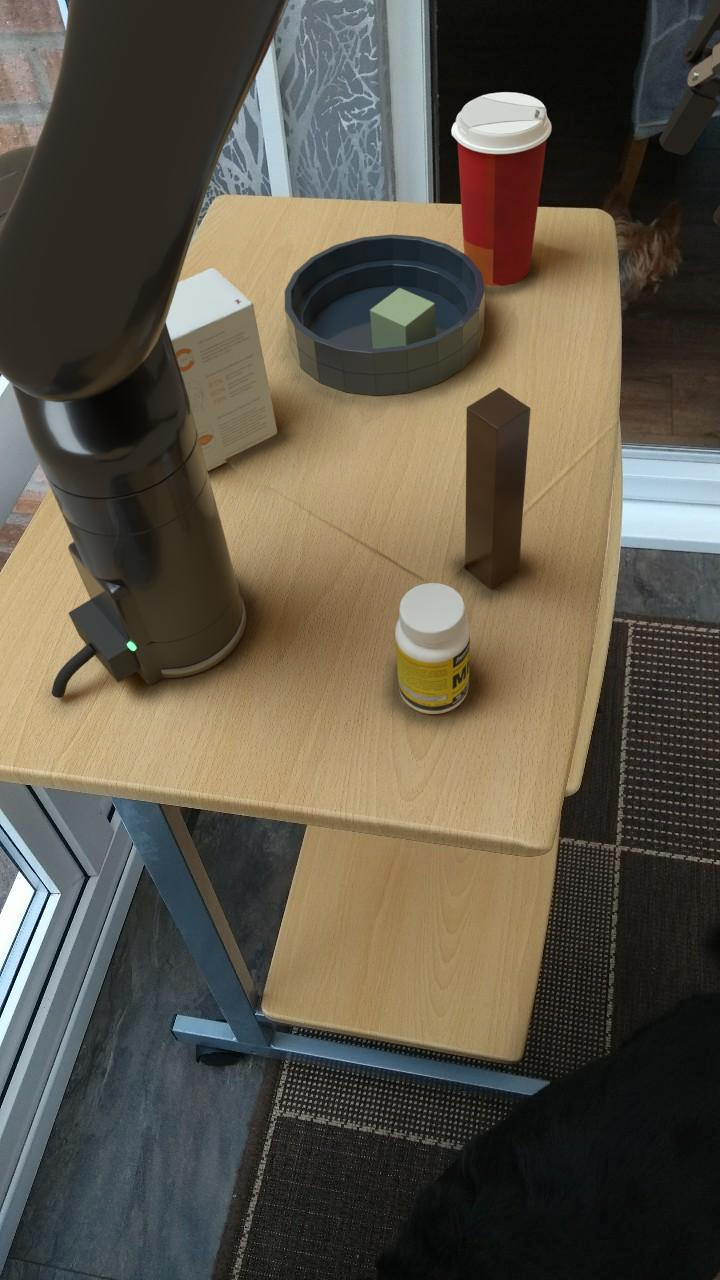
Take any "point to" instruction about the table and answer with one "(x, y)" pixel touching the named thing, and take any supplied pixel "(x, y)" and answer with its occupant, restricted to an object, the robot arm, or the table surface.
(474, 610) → the table surface
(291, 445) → the table surface
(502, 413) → the stick
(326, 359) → the bowl
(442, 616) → the supplement bottle
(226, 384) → the small box
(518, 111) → the coffee cup
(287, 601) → the table surface
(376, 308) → the block
